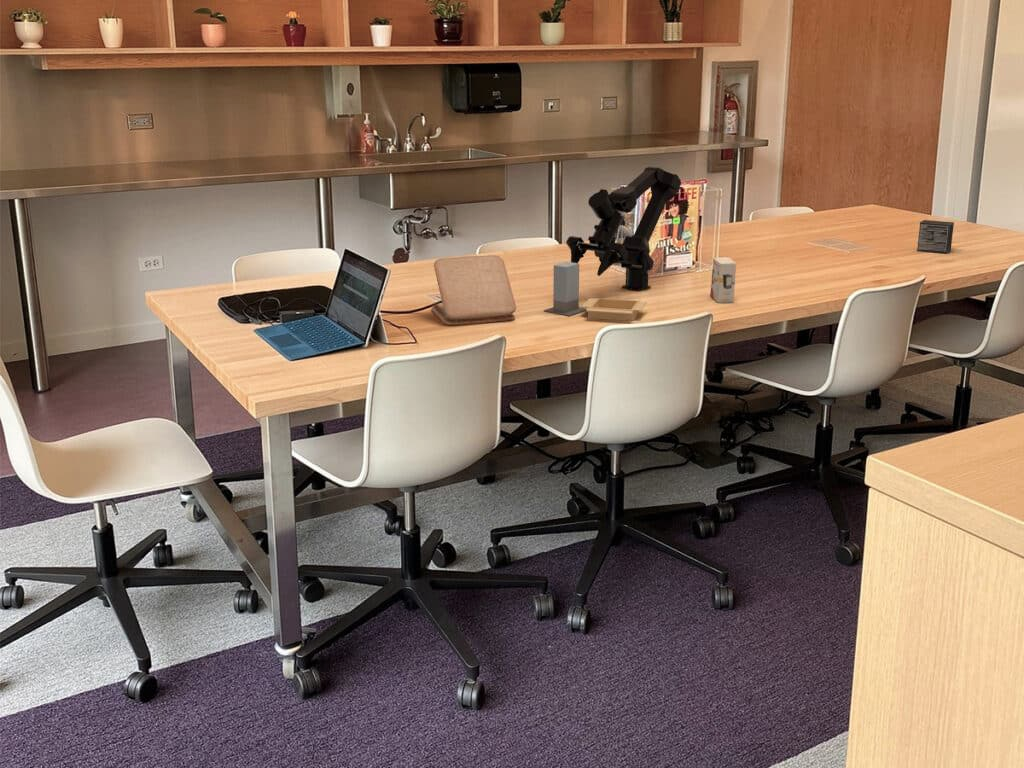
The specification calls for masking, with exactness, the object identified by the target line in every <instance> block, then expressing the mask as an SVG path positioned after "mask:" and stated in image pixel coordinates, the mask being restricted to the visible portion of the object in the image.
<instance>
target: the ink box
mask: <svg viewBox="0 0 1024 768" xmlns="http://www.w3.org/2000/svg"><path fill="white" fill-rule="evenodd" d="M712 258H713V259H712V260H713V261H712V268H711V269H712V270H711V271H712V272H711V283H710V292H709V293H710V294H709V296H710V297H711V298H712V299H714V300H715V301H716V302H717V303H723V304H724V303H732V304H733V303H734V300H735V286H736V285H735V284H736V271H737V262H735V261H734V259H732V258H730V257H724V256H723V257H712Z"/></svg>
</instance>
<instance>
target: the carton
mask: <svg viewBox="0 0 1024 768" xmlns="http://www.w3.org/2000/svg"><path fill="white" fill-rule="evenodd" d="M647 304H648V301H641V300H637V299H636V300H635V299H634V300H633V299H621V298H620V299H619V298H618V299H617V298H602V297H596V298H595V297H594V298H592V297H589V298H588V299H587V300H586V301H585V303H583V305H581V307H582V308H587V309H586V311H585V312H587V318H589V319H599V320H600V319H602V320H613V321H614V320H617V321H630V322H631V321H632V322H633V321H634V320H635V319H636V317H637V316H638V314H639V313H640V312H642V311H643V310H644V308H645V306H646V305H647Z"/></svg>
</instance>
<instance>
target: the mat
mask: <svg viewBox="0 0 1024 768" xmlns="http://www.w3.org/2000/svg"><path fill="white" fill-rule="evenodd" d="M586 309H587V308H582V306H579V309H576V310H573V311H570V312H567V313H564V312H559V311H554V310H553V307H550V308H546V309H544V310H543V312H545V313H549V314H550V313H551V314H554V315H560V316H565V317H572V316H575V315H578V314H581V313H584V312H587V311H586Z"/></svg>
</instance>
